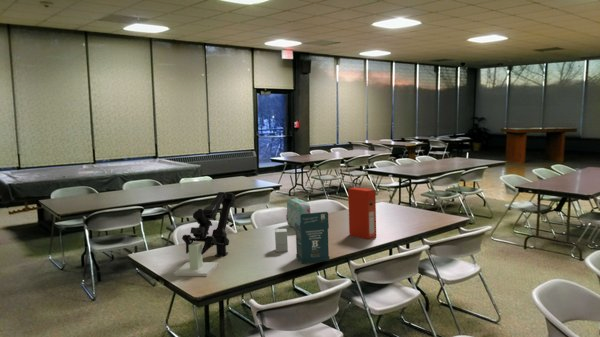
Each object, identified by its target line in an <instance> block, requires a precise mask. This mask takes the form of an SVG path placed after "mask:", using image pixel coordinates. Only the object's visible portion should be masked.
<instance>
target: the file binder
mask: <svg viewBox="0 0 600 337" xmlns="http://www.w3.org/2000/svg"><path fill="white" fill-rule="evenodd" d="M347 190H348V191H347V193H348V195H347V197H348V198H347V199H348V230H349V232H348V233H349V236H354V237H356V238H361V239H365V240H372V239H375V238H377V209H376V208H377V207H376V206H377V204H376V200H377V198H376V189H373V188H372V189H371V188H364V187H360V186H359V187H358V186H355V187H349V188H348V189H347Z"/></svg>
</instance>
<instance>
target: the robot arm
mask: <svg viewBox="0 0 600 337" xmlns="http://www.w3.org/2000/svg"><path fill="white" fill-rule="evenodd" d="M236 198H237V196H236V194H234V192H225V191H219V192H217V193H216V196H215V197H214V199H213V200H212V202H211V203H210V204H209V205H207V206H206V207H204V208H203V209H202V208H198V209H197V210H196V211H194V212H193V214H192V217H193V219H194V220H195V222H196V223H197V224H198V227H190V234H183V235H182V237H181V240H182V241H184V243H185V254H188V255H189V245H190V244H192V243H194V242H199V243H202V242H204V244H203V246H202V252H201V254H202V256H203V255H204V254H205V253H206V252H208V250H209V249H211V248H213V247H214V246H215V248H216V250H215V251H216V253H215V254H214V257H226V256H227V255H228V254H229V251H228V252H227V246H229V245H230V239H229V238H228V237H227V236H228V233H227V230H226V228H227V224H228V221H229V216H230V211H231V208H232V207H233V206H234V204H235V202H236ZM221 205H222V207H221ZM220 207H221V210H220V214H219V218H218V223H217V227H216V229H213V230H212V234H211V235H210V232H209V230H210V227H211V226H213V223H212V221H211V220H215V219H216V217H217V215H218V209H219V208H220ZM191 234H192V235H191ZM192 236H193V237H192Z"/></svg>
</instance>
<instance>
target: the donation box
mask: <svg viewBox="0 0 600 337" xmlns="http://www.w3.org/2000/svg"><path fill="white" fill-rule="evenodd" d="M329 224H330V223H329V212H327V211H321V212H310V213H308V214H301V220H300V221H297V222H295V227H296V229H295V242H296V243H295V244H296V246H295V247H296V253H295V257H296V259H297V261H298V262H300V264H301V265H306V264H315V263H321V262H322V263H323V262H329V261H330V257H331V256H330V255H329V254H330V252H329V228H330V226H329Z"/></svg>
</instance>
